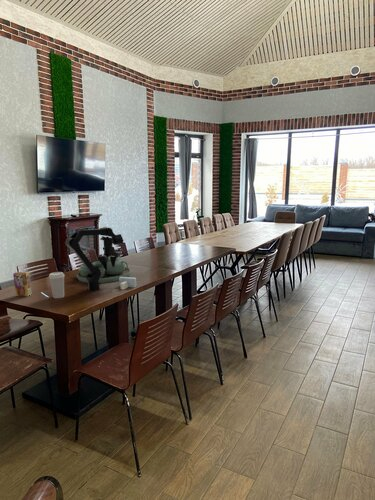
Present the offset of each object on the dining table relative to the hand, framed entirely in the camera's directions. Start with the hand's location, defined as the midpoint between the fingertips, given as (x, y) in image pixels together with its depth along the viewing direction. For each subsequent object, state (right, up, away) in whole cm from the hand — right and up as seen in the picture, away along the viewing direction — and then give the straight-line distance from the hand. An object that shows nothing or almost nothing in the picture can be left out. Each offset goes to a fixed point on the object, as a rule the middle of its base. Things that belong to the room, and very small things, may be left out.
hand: (109, 268), depth 250 cm
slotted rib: (+13, -12, -2) cm, 17 cm away
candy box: (-52, -17, -14) cm, 57 cm away
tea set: (-10, -8, +28) cm, 31 cm away
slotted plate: (+13, -12, -2) cm, 17 cm away
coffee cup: (-28, -17, -19) cm, 38 cm away
